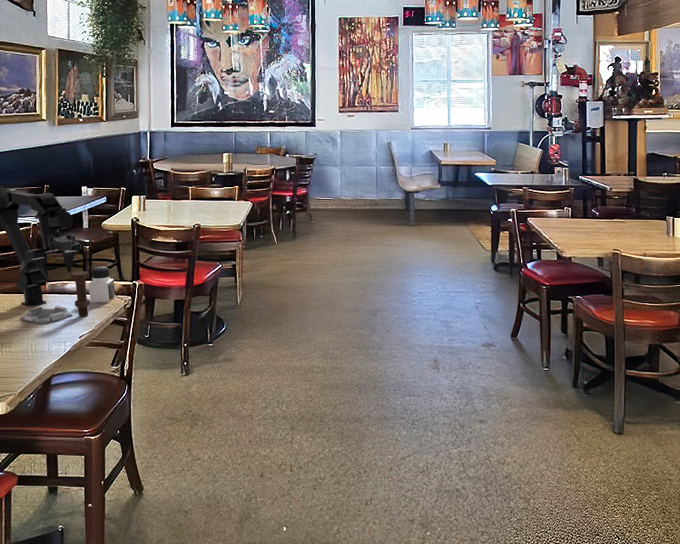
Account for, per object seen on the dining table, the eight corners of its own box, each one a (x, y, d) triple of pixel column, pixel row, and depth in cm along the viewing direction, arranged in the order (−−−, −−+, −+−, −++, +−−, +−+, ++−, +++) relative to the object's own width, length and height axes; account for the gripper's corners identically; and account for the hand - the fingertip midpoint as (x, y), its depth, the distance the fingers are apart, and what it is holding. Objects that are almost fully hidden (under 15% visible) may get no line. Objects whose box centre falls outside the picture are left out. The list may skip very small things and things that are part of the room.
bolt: (86, 318, 270) (82, 275, 267) (72, 318, 271) (68, 274, 268) (94, 313, 276) (90, 271, 272) (81, 313, 277) (77, 270, 273)
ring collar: (17, 319, 271) (16, 313, 270) (51, 310, 281) (50, 304, 281) (41, 325, 263) (40, 319, 263) (75, 315, 274) (74, 309, 273)
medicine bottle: (109, 302, 290) (107, 269, 287) (90, 302, 290) (87, 270, 288) (115, 297, 297) (112, 265, 294) (96, 297, 297) (93, 265, 294)
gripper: (39, 233, 263) (48, 279, 266) (86, 224, 278) (95, 269, 280) (20, 235, 270) (29, 280, 272) (67, 226, 285) (75, 270, 287)
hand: (58, 275), depth 278 cm, fingers open, 9 cm apart
